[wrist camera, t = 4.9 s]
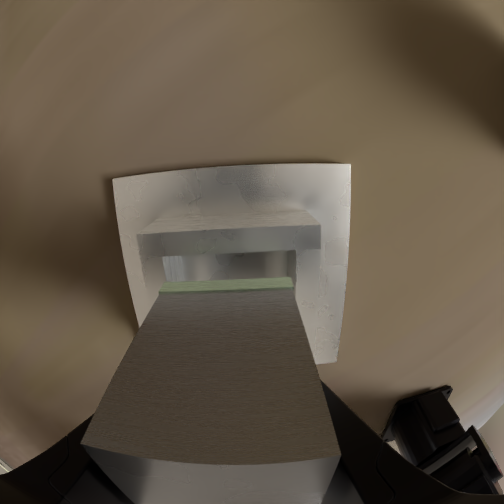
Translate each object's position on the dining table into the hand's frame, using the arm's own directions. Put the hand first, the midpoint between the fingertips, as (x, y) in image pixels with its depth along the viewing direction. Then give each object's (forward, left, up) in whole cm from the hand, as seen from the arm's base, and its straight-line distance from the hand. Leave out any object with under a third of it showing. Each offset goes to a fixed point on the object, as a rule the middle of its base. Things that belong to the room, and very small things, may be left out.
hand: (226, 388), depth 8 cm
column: (0, 0, -3) cm, 3 cm away
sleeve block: (0, 0, -8) cm, 8 cm away
